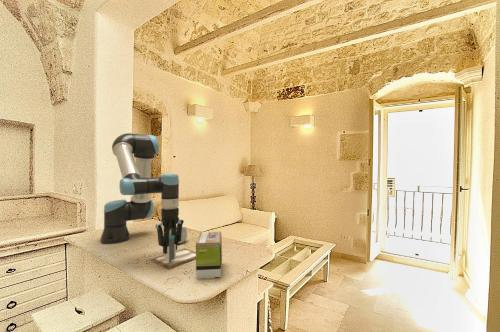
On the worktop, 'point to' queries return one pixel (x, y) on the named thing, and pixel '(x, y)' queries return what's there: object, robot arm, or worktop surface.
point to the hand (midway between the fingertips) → (170, 259)
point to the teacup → (183, 235)
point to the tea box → (209, 255)
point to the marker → (171, 247)
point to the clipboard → (181, 258)
